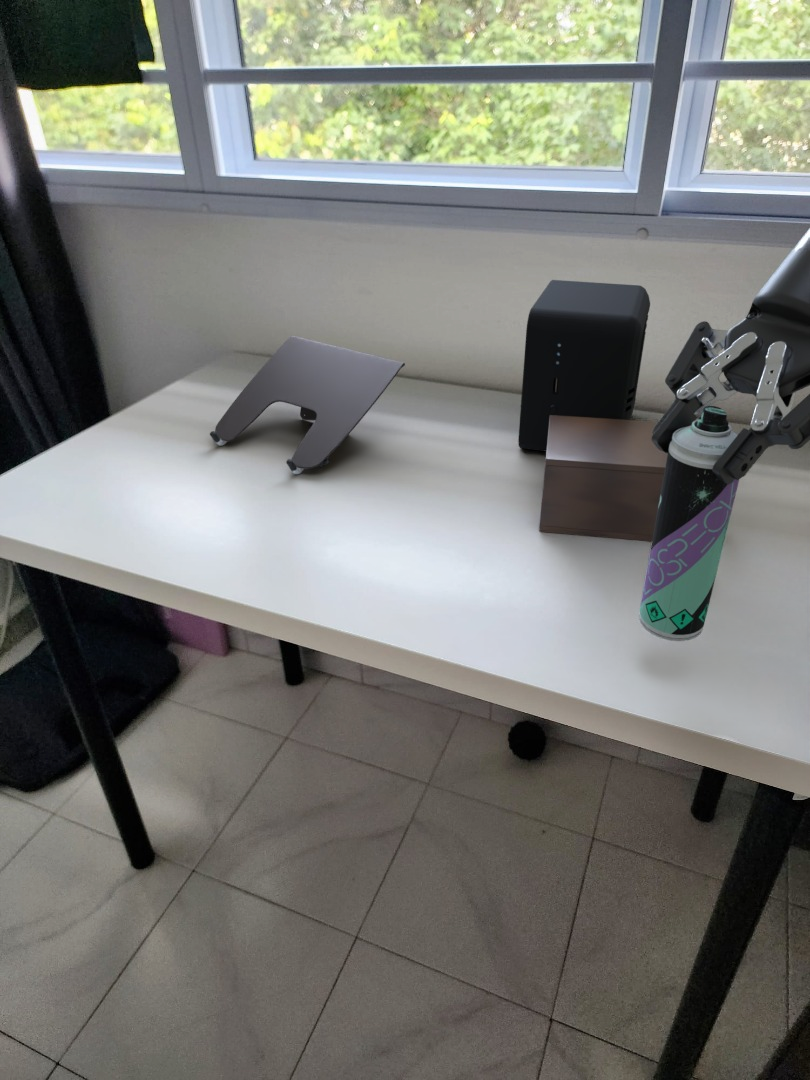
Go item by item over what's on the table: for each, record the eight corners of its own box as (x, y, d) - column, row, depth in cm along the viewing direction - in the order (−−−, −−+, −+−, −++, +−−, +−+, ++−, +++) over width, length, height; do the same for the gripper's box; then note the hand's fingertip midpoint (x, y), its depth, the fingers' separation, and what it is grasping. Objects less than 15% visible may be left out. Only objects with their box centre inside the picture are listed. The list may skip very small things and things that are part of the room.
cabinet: (657, 490, 97) (670, 422, 92) (666, 542, 87) (681, 468, 81) (543, 482, 99) (549, 414, 94) (538, 531, 89) (545, 458, 84)
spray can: (625, 612, 67) (660, 403, 57) (673, 596, 69) (716, 391, 59) (667, 648, 63) (714, 430, 53) (717, 630, 65) (771, 415, 54)
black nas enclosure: (621, 467, 102) (644, 322, 92) (516, 454, 107) (527, 312, 96) (633, 412, 119) (654, 282, 108) (542, 402, 123) (553, 276, 112)
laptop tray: (223, 468, 117) (193, 428, 110) (308, 367, 125) (285, 324, 118) (332, 511, 105) (307, 470, 98) (418, 397, 114) (401, 351, 106)
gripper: (738, 229, 58) (601, 405, 60) (922, 263, 47) (749, 476, 49) (769, 289, 63) (641, 450, 65) (942, 332, 52) (784, 524, 54)
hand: (688, 461), depth 57 cm, fingers closed on spray can, 5 cm apart
